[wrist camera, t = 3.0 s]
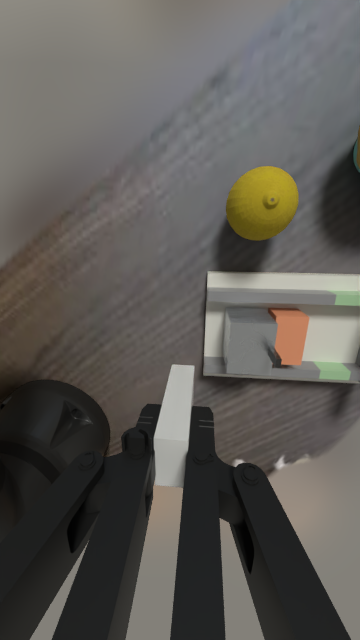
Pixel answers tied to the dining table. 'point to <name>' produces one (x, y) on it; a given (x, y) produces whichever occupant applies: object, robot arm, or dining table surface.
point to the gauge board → (301, 293)
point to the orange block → (290, 334)
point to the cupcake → (357, 152)
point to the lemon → (262, 203)
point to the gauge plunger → (250, 341)
